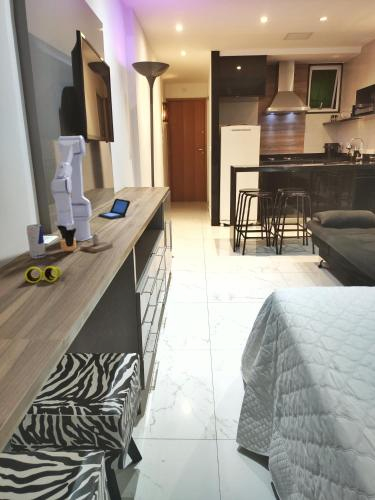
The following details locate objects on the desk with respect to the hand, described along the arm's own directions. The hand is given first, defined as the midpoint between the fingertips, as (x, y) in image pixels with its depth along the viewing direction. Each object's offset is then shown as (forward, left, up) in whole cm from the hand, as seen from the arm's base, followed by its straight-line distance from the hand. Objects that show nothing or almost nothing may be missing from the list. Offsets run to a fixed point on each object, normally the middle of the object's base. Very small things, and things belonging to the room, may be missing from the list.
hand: (68, 244), depth 142 cm
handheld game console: (-35, +64, -4) cm, 73 cm away
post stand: (+7, +8, -3) cm, 11 cm away
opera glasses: (+18, -25, -3) cm, 31 cm away
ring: (0, 0, -1) cm, 1 cm away
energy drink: (-5, -10, -3) cm, 12 cm away
